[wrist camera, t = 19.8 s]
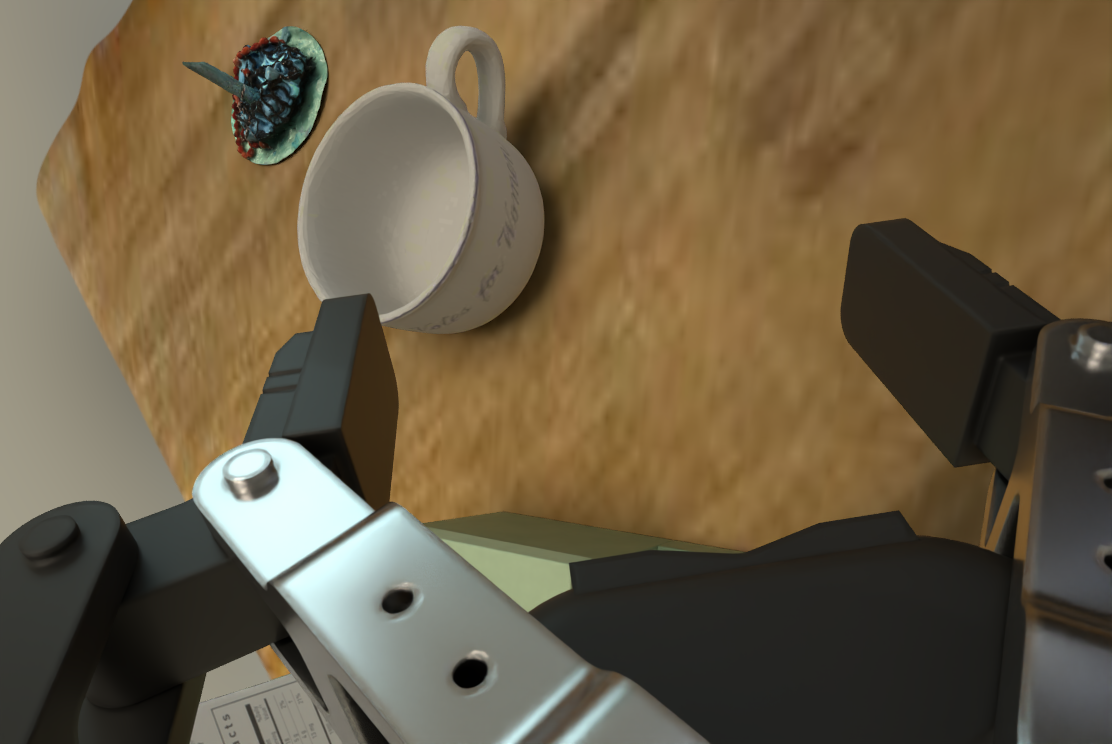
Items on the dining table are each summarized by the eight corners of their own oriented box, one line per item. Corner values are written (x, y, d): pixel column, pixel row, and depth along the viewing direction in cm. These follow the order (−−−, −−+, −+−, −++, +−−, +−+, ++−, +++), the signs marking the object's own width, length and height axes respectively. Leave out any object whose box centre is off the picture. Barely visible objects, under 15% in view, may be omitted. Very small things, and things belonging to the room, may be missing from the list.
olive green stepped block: (930, 569, 27) (911, 632, 18) (910, 931, 26) (880, 1188, 17) (495, 500, 37) (339, 518, 28) (472, 764, 36) (305, 872, 27)
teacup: (494, 385, 37) (386, 372, 30) (371, 277, 42) (254, 244, 35) (647, 144, 34) (566, 68, 27) (496, 57, 39) (394, -27, 32)
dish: (272, 158, 43) (167, 63, 42) (278, 195, 50) (188, 114, 49) (364, 73, 46) (268, -20, 44) (358, 119, 52) (274, 39, 51)
